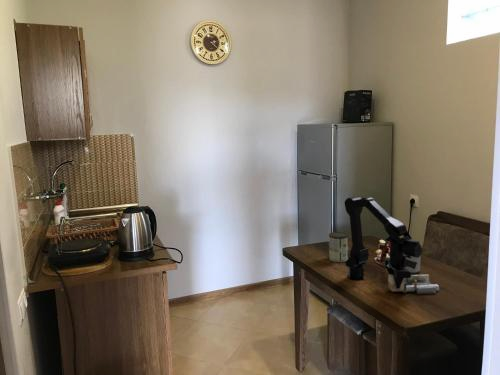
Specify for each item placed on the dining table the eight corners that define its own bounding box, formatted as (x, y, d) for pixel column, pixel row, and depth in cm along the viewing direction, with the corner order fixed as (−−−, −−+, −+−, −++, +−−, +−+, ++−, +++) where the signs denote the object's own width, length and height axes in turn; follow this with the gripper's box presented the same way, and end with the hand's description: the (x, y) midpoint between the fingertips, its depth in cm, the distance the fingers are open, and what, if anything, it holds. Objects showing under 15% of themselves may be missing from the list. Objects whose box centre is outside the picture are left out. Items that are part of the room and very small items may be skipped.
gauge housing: (407, 294, 177) (407, 283, 176) (399, 285, 186) (399, 275, 185) (437, 292, 177) (437, 282, 176) (427, 284, 186) (428, 274, 185)
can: (421, 273, 200) (422, 250, 198) (405, 273, 201) (405, 249, 199) (418, 268, 207) (419, 245, 205) (402, 268, 208) (403, 245, 206)
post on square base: (403, 292, 178) (403, 282, 177) (399, 288, 183) (399, 278, 182) (440, 291, 178) (440, 281, 177) (435, 287, 183) (435, 277, 182)
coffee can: (332, 254, 232) (332, 231, 230) (350, 257, 227) (350, 233, 225) (326, 260, 224) (325, 235, 222) (344, 263, 218) (344, 237, 216)
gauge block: (392, 291, 177) (392, 278, 176) (388, 286, 182) (388, 274, 181) (403, 291, 177) (403, 277, 176) (399, 286, 182) (399, 273, 181)
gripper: (424, 258, 168) (423, 294, 170) (406, 245, 186) (406, 277, 189) (397, 259, 168) (396, 295, 170) (382, 246, 186) (382, 278, 189)
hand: (395, 286), depth 180 cm, fingers closed on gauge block, 5 cm apart
